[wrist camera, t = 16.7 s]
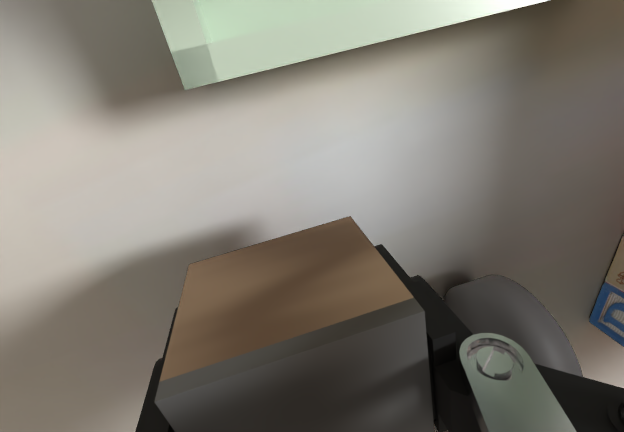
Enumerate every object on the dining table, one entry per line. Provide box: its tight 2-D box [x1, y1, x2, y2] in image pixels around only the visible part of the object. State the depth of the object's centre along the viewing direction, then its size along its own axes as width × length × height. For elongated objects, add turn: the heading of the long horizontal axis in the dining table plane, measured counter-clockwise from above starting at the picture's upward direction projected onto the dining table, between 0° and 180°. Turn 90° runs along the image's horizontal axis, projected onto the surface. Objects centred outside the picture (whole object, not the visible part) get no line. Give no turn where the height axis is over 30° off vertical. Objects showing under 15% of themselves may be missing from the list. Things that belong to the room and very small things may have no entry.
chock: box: [154, 216, 434, 432], centre depth 9 cm, size 5×5×4 cm
